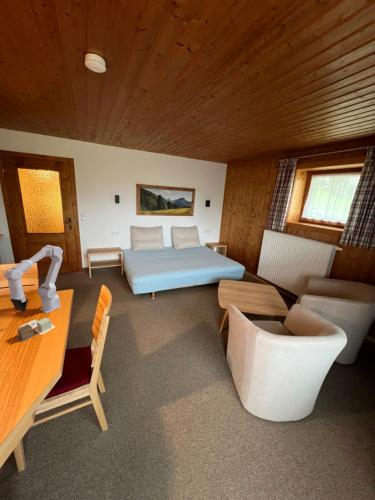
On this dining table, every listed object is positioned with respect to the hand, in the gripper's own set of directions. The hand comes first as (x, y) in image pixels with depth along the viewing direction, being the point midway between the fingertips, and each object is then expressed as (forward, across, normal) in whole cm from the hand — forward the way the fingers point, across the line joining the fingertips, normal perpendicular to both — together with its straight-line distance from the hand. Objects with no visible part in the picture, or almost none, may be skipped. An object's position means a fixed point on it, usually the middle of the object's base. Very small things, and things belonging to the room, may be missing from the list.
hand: (20, 308), depth 118 cm
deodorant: (+10, -18, +6) cm, 21 cm away
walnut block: (+9, +15, -5) cm, 18 cm away
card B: (+9, +16, +4) cm, 19 cm away
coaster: (+9, +15, -4) cm, 18 cm away
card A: (+9, +7, +1) cm, 12 cm away
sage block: (+9, +16, +4) cm, 19 cm away
